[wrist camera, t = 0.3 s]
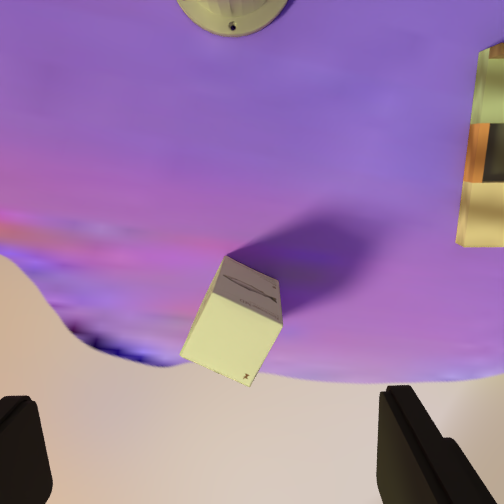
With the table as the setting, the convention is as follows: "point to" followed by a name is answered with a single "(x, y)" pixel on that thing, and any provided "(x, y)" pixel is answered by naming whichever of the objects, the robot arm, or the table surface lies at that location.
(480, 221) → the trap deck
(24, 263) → the table surface
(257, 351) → the supplement box
